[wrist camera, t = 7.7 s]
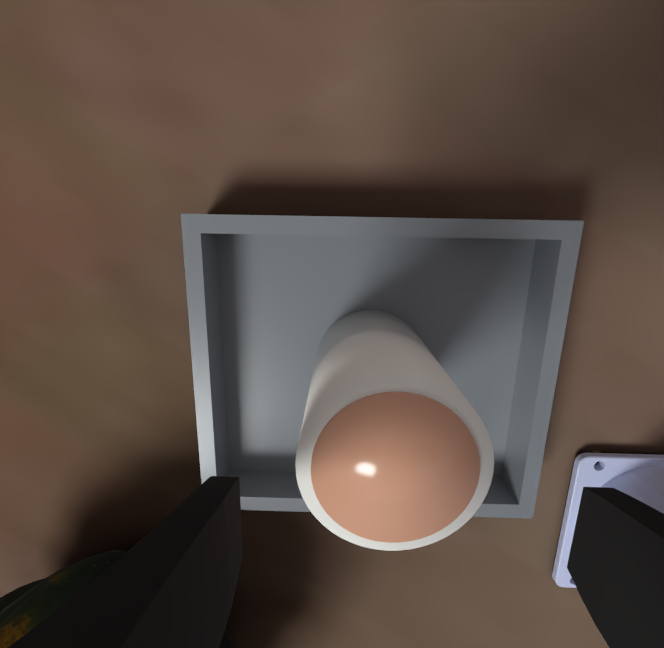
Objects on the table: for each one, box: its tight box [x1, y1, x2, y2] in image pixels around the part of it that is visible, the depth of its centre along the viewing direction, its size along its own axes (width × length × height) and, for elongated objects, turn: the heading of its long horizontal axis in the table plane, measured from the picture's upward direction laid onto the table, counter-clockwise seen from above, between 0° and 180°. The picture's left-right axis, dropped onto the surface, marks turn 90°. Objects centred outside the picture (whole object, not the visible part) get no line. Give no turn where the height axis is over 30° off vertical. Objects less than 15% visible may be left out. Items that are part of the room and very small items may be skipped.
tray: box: [181, 214, 584, 518], centre depth 17 cm, size 15×13×2 cm
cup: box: [295, 310, 494, 551], centre depth 13 cm, size 5×5×8 cm
